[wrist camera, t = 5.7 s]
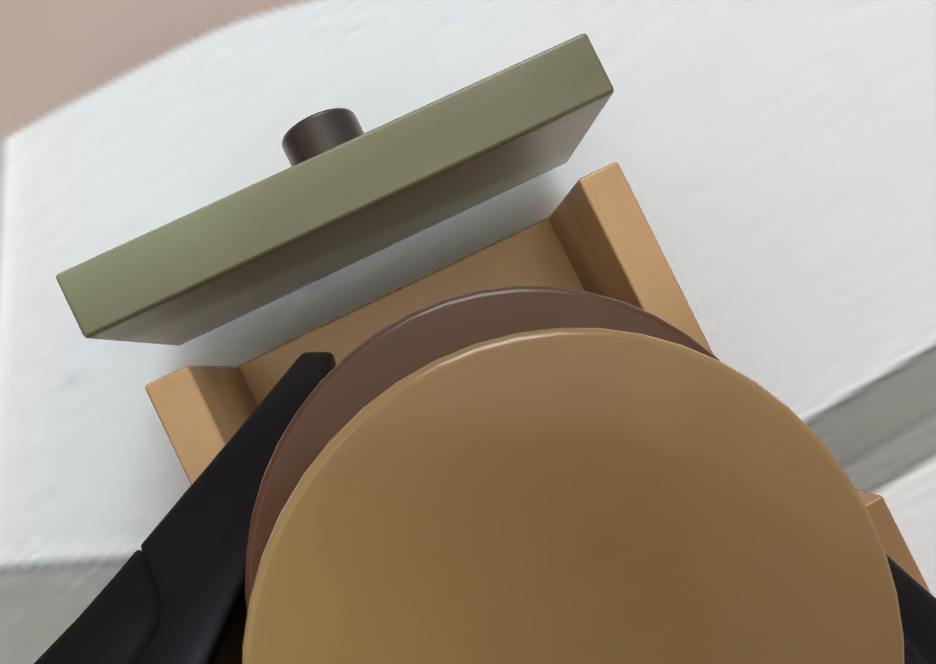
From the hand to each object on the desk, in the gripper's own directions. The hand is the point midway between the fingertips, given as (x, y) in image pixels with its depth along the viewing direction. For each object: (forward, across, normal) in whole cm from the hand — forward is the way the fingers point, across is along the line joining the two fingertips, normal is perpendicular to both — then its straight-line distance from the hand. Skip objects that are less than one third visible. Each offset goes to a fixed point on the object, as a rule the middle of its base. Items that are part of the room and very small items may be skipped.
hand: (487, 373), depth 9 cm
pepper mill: (+3, 0, +5) cm, 5 cm away
